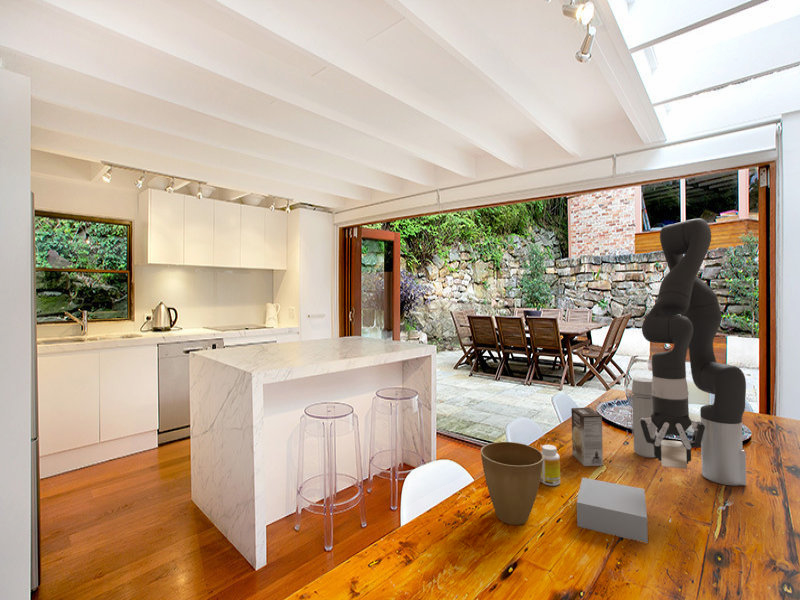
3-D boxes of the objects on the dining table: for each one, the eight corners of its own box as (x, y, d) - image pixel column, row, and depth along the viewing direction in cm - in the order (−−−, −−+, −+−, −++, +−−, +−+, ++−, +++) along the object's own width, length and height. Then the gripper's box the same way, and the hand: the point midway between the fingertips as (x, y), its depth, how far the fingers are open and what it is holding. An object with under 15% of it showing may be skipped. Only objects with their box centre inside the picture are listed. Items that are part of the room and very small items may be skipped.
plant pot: (512, 542, 86) (510, 470, 86) (470, 510, 99) (468, 448, 99) (559, 522, 93) (557, 456, 92) (514, 495, 106) (512, 437, 106)
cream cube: (681, 460, 99) (681, 441, 99) (687, 469, 95) (686, 448, 95) (658, 458, 102) (658, 439, 101) (662, 466, 97) (661, 446, 97)
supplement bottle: (564, 483, 111) (563, 448, 111) (550, 488, 109) (549, 452, 109) (549, 476, 116) (548, 442, 116) (535, 480, 114) (534, 445, 114)
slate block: (645, 513, 96) (644, 489, 96) (647, 545, 84) (647, 517, 84) (582, 499, 103) (582, 477, 103) (577, 527, 91) (576, 502, 91)
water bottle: (659, 452, 131) (657, 378, 131) (659, 460, 124) (657, 383, 124) (627, 447, 136) (625, 376, 136) (626, 455, 129) (624, 380, 129)
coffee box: (571, 454, 131) (570, 407, 131) (590, 454, 131) (589, 406, 131) (583, 466, 122) (582, 415, 122) (604, 466, 122) (603, 415, 122)
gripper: (700, 392, 98) (702, 458, 99) (634, 389, 104) (637, 451, 105) (709, 400, 92) (712, 471, 92) (638, 396, 98) (641, 463, 98)
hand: (672, 460), depth 98 cm, fingers closed on cream cube, 5 cm apart
